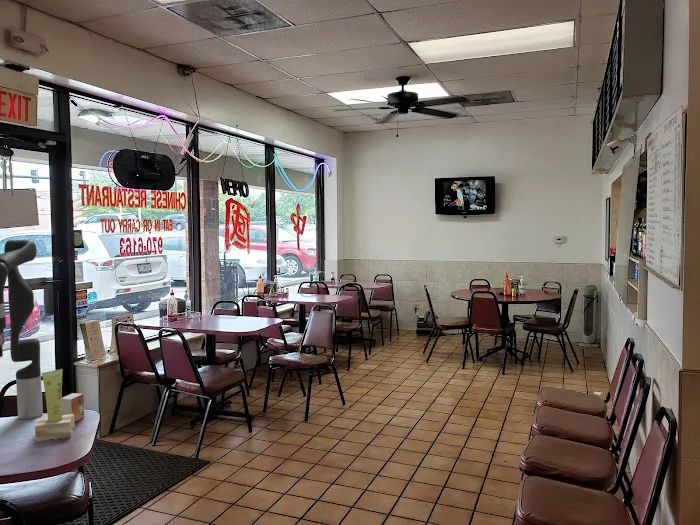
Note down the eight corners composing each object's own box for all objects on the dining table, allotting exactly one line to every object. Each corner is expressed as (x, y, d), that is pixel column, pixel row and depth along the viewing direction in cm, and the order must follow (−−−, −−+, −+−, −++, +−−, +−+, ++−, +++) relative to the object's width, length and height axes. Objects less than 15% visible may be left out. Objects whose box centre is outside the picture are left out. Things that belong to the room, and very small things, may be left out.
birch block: (41, 432, 224) (40, 417, 224) (74, 428, 228) (73, 413, 227) (35, 441, 215) (34, 426, 214) (70, 437, 218) (69, 422, 218)
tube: (56, 422, 218) (54, 372, 216) (43, 422, 218) (41, 372, 217) (65, 417, 223) (62, 368, 222) (52, 417, 224) (50, 368, 222)
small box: (72, 424, 232) (70, 399, 231) (60, 423, 233) (58, 398, 233) (85, 417, 240) (83, 393, 239) (73, 416, 241) (72, 392, 240)
